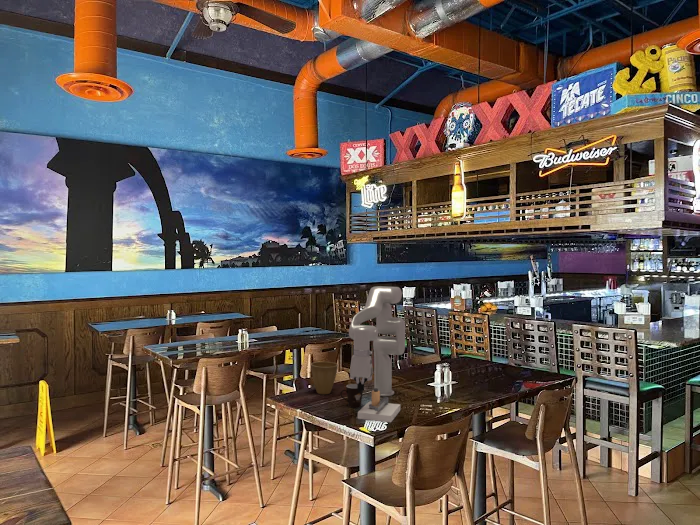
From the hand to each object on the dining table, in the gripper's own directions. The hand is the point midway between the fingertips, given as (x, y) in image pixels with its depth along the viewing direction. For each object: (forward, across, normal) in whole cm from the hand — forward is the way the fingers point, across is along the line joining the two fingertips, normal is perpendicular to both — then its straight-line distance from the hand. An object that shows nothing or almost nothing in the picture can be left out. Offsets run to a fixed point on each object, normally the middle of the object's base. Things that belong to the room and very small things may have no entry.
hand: (360, 391), depth 250 cm
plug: (+11, -6, -6) cm, 14 cm away
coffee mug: (+11, +9, -15) cm, 21 cm away
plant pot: (+11, +31, -34) cm, 47 cm away
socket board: (+11, -8, -6) cm, 15 cm away
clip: (+8, -9, -5) cm, 13 cm away
